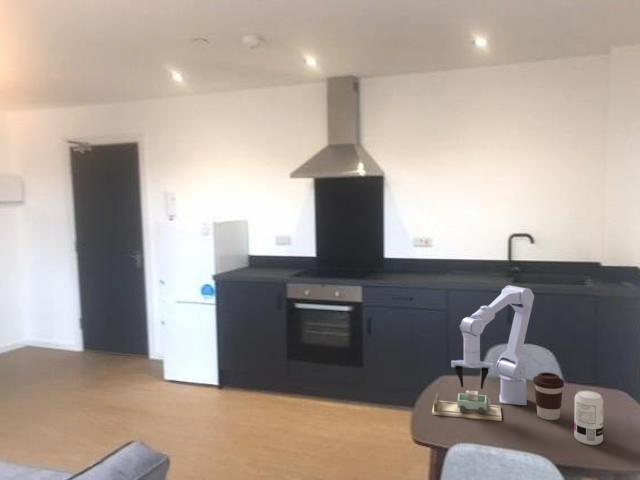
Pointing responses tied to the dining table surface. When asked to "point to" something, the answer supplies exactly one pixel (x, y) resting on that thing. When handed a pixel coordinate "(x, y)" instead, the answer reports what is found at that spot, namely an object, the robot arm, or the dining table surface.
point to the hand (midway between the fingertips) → (471, 387)
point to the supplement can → (588, 417)
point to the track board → (453, 410)
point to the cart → (474, 403)
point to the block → (471, 395)
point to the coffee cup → (548, 395)
